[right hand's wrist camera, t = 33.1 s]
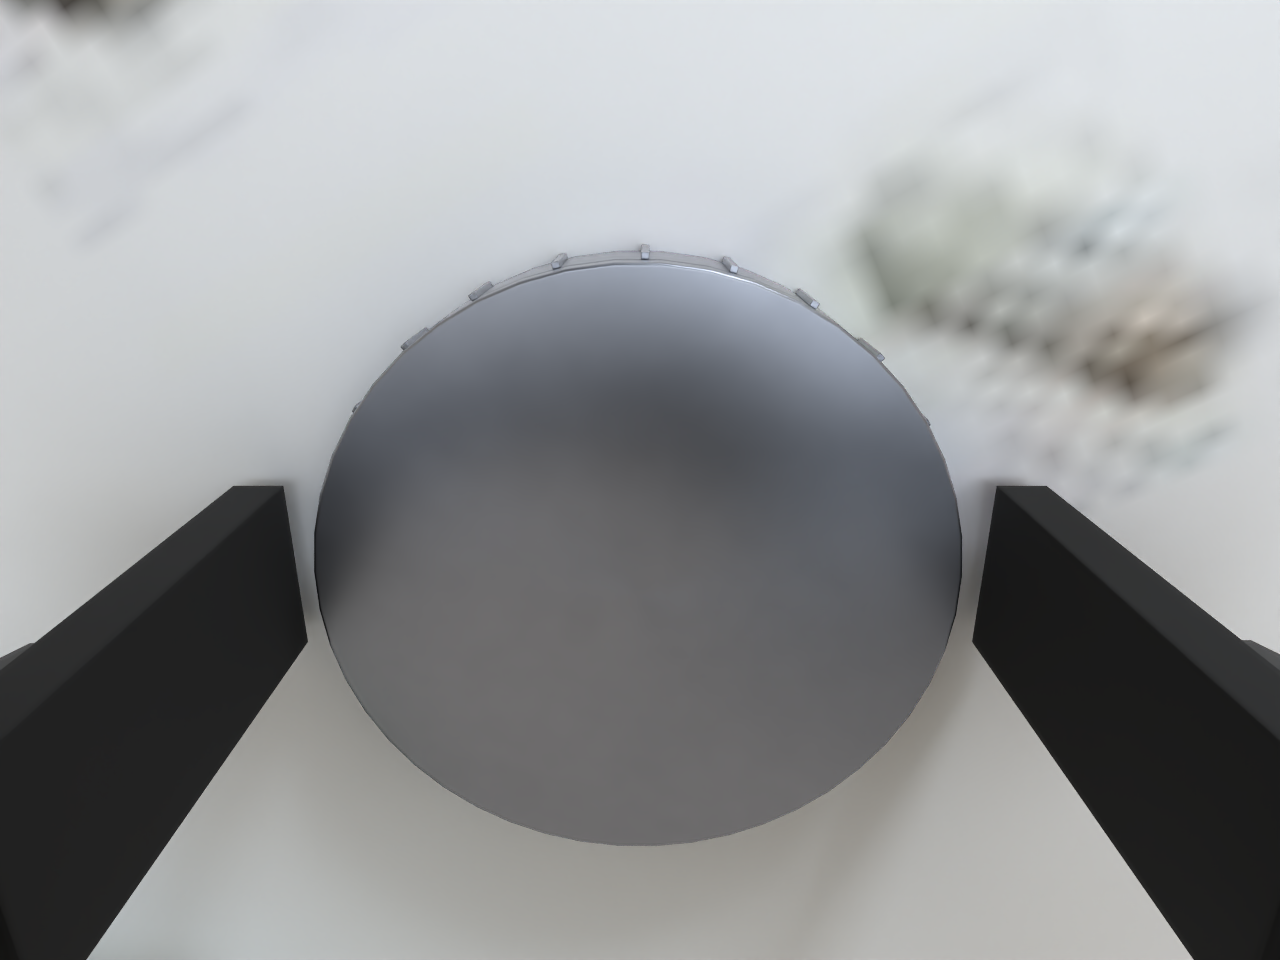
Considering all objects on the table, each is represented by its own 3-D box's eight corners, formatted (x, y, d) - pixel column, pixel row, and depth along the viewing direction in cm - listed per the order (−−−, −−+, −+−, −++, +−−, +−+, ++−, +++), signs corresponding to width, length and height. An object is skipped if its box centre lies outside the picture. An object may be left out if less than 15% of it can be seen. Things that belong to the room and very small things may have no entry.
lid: (1051, 420, 13) (1107, 455, 11) (751, 851, 16) (763, 926, 14) (484, 122, 12) (458, 116, 10) (271, 657, 14) (225, 716, 13)
